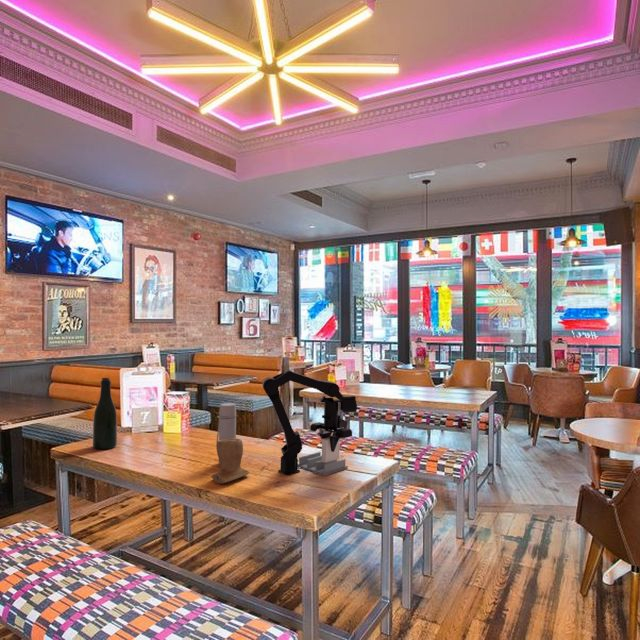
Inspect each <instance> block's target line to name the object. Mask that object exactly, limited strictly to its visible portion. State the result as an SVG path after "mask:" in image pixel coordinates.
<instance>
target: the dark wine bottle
mask: <svg viewBox="0 0 640 640" xmlns="http://www.w3.org/2000/svg"><path fill="white" fill-rule="evenodd" d="M111 384H112V380H111V378H110V377H102V378H101V380H100V393H99V394H100V395H99V399H98V400H97V401H98V402H97V405H96V407H95V409H94V413H93V423H92V448H93V449H94V450H97V451H98V450H103V451H104V450H110V449H114V448H116V447H117V444H118V416H117V409H116V406H115V403H114V400H113V397H112V391H111V386H112V385H111Z"/></svg>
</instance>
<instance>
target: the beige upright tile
mask: <svg viewBox="0 0 640 640" xmlns="http://www.w3.org/2000/svg"><path fill="white" fill-rule="evenodd" d="M340 440H341V438H340V439H339V440H338V442H337V445H336V448H335V451H334V452H332V451H331V445H330V439H329V438H325V439H321V456H322V462H325V463H327V462H330V461H334V460H337V461H338V460H340V449H341V448H340V446H341V445H340V443H341V441H340Z"/></svg>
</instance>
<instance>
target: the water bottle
mask: <svg viewBox="0 0 640 640" xmlns="http://www.w3.org/2000/svg"><path fill="white" fill-rule="evenodd" d="M216 418H218V424H217V434H216V444H215V445H216V446H215V447H216V450H217V442H218V441H219V440H224V439H237V405H236V403H234V402H233V403H232V402H226V403H225V402H224V403H220V404H219V412H218V415H217V417H216ZM218 463H219V465H220V462H219V461H218Z"/></svg>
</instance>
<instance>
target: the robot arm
mask: <svg viewBox="0 0 640 640" xmlns="http://www.w3.org/2000/svg"><path fill="white" fill-rule="evenodd" d="M288 382H293V383H296V384H298V385H299V384H300V385H303V386H306V387H308V388H312V389H314V390H317V391H319V392H321V393H322V394H324V395H323V396H322V397H320V399H319V402H320V403H323V405H324V406H323V414H322V415H321V419H323V422H320V421H319V422H314V423H311V425H310V428H309V429H310V431H311V432H317V430H318V432H317V435H318V436H319V438H320V439H321V440H322V439H325V438H329V439H330V445H331V451H332V452H334V451H335V448H336V445H337V442H338V440H339V439H340V440H341V439H345V438H350V437H353V430H352V429H351V428H347V427H348V425H349V421H348V420H345V419H342V418H341V415H340V414H339V411H341V413H342V414H343V413H345V414H346V413H357V411H358V405H357V400H356V396H355V395H346V396H345V395H343V394H342V393H341V392H340V391H341V389H340V386H339V384H337V383H335V382H334V381H330V380H325V379H322V380H320V379H316V378H313V377H310V376H307V375H303V374H301V373H298V372H296V371H292V370H291V369H287V370H285V371H283V372H281V373H279V374H276V375H274V376H272V377H271V376H270V377H269V376H268V377H266V378H264V379H263V381H262V383H261V385H262V388H263V390H264V392H265V393H266V395H267V396H268V399H269V400H270V402H271V403H272V406H273V408H274V412H275V414H276V415H277V419H278V421H279V423H280V427H282V428H281V429H282V430H283V435H284V440H285V444H284V445H283V446H282V447H281V448H280V451H281V454H282V456H280V469H278V470H277V472H278V473H281V474H284V475H287V476H289V475H290V476H291V475H293V474H297V473H300V471H301V470H299V467H298V464H299V458H298V454H300V453H301V451H302V449H303V444H304V443H303V441H302V439H301V435H300V433H299V430H296V431H294V429H293V427H292V424H291V422H290V420H289V417H288V415H287V412H286V409H285V407H284V405H283V401H282V400H281V396H280V394H281V393H280V390H279V388H280V387H282V386H284V385H285V384H286V383H288ZM325 395H326V396H325ZM327 396H328V397H327ZM334 398H336V399H334Z"/></svg>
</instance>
